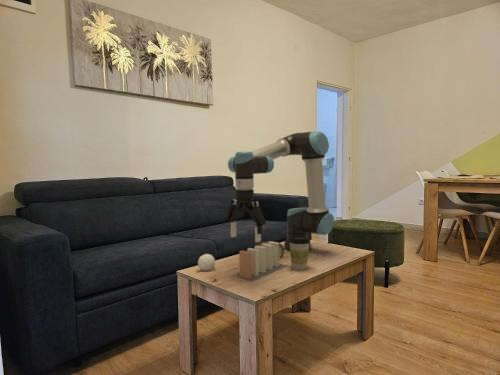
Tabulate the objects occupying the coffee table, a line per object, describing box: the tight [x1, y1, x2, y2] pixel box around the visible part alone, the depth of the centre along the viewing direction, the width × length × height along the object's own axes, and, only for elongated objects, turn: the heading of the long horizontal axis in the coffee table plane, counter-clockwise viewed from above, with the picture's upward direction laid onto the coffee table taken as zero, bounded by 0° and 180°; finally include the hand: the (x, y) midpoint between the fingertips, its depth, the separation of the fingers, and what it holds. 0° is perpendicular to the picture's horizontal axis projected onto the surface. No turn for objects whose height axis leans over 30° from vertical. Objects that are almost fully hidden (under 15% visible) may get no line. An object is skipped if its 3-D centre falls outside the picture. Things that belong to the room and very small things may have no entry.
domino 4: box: [261, 244, 273, 270], centre depth 153 cm, size 2×5×11 cm, turn 50°
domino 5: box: [267, 241, 280, 267], centre depth 157 cm, size 2×5×11 cm, turn 50°
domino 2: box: [246, 247, 259, 276], centre depth 145 cm, size 2×5×11 cm, turn 50°
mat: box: [232, 263, 288, 282], centre depth 150 cm, size 26×11×1 cm, turn 140°
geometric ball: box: [197, 253, 216, 272], centre depth 153 cm, size 8×8×8 cm
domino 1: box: [238, 249, 251, 279], centre depth 142 cm, size 2×5×11 cm, turn 50°
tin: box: [255, 241, 285, 259], centre depth 171 cm, size 15×3×8 cm, turn 84°
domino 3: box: [253, 245, 266, 273], centre depth 149 cm, size 2×5×11 cm, turn 50°
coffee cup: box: [289, 235, 311, 271], centre depth 153 cm, size 10×10×15 cm
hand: (245, 239), depth 141 cm, fingers open, 13 cm apart
